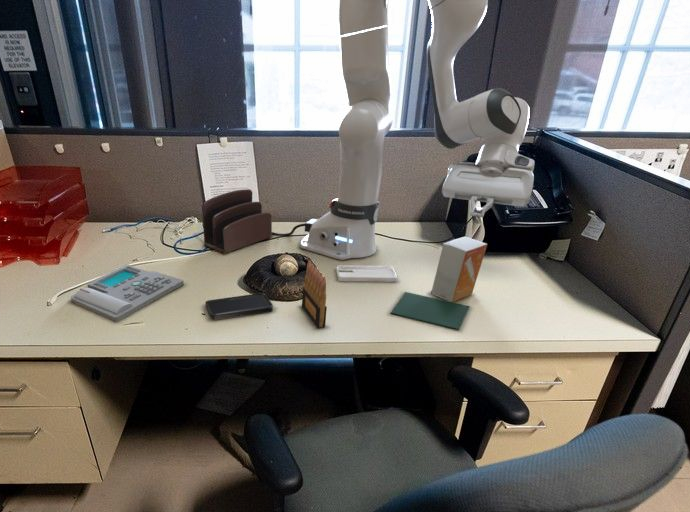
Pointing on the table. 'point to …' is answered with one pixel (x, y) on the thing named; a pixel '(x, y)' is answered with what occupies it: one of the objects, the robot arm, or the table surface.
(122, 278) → the office telephone
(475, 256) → the small box
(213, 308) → the phone
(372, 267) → the phone case
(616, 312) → the table surface
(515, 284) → the table surface
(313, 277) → the ammunition clip
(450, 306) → the mat
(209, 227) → the letter holder
